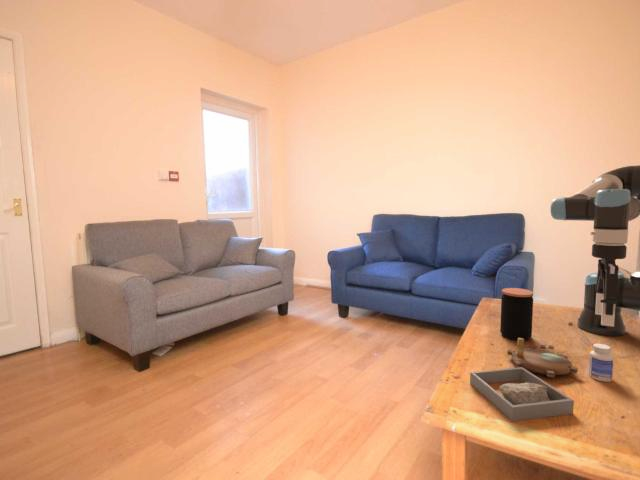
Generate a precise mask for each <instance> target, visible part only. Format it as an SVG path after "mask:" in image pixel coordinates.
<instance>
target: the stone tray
mask: <svg viewBox="0 0 640 480" xmlns="http://www.w3.org/2000/svg"><path fill="white" fill-rule="evenodd" d="M469 376H470V379H469V384H470V385H471V386H472V387H474V389H475V390H477V391H478V392H479V394H481V395H483V396H484V398H486V399H487V400H488V401H489V402H490V403H491V404H492V405H493V406H495V407H496V408H497V409H498V410H499V411H500V412H501V413H502V414H503V415H505V416H506V418H508V419H509V420H510V421H511V422H515V421H524V420H525V421H526V420H533V419H541V418H548V417H550V418H551V417H555V416H556V417H559V416H565V415H573V414H574V403H575V402H574V401H575V400H574V399H572V398H571V397H569V396H568V395H567V394H565V393H563V392H562V391H560V390H559V389H557V388H555V387H554V386H552V384H549V383H548V382H546V381H545V380H543V379H541V378H540V377H538V376H536V375H535V373H534V374H533V372H530V371H528V370H526V369H525V368H523V367H509V368H499V369H489V370H479V371H470V375H469ZM514 381H522V383H535V384H539V385H543V386H545V387H546V392H547V395H548V398H549V399H550V401H545V402H537V403H528V404H519V405H513V404H511V403H510V402H509V401H508V400H506V399H505V397H504V396H503V394H501V393H499V392H498V391H497V390H496V389H495V388H493V387H492V386H491V385H489V384H494V383H496V384H497V383H505V382H514Z"/></svg>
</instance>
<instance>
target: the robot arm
mask: <svg viewBox="0 0 640 480" xmlns="http://www.w3.org/2000/svg"><path fill="white" fill-rule="evenodd" d="M550 215H551V218H553V220H557V221H564V222H565V221H582V222H583V221H584V222H585V221H586V222H587V221H591V222H593V231H591V232H590V235H591V236H593V237H592V242H594V243H593V244H592V247H591V256H592V257H594V258H596V259H598V260H597V262H598V263H597V272H591V273H588V274H587V275H586V277H585V282H584V296H583V309H582V311H581V313H580V315H579V317H578V319H577V322H576V323H577V327H578V328H579V329H581V330H583V331H586V332H590V333H593V334H597V335H602V336H612V337H613V336H614V337H618V336H624V335H626V329H627V327H626V325H625V322H624V320H623V316H622V309H628V310H632V311H638V312H640V230H639V232H638V244H637V257H636V268H635V270H634V271H633V272H631V273H630V275H629V278H627V277H625V275H624V273H622V272H619V270H620V268H619V265H618V264H616V260H623V259H626V258H627V246H626V245H625V244H627V243H628V236H629V222H631V221H633V220H635V219H637V218H638V217H640V164H639V165H628V166H622V167H618V168H616V169H615V168H614V169H613V170H609V171H607V172H604V173H602V174H600V175H599V176H597V177H595V178H594V179H593V180H592V182H591V183H590V184H589V185H587V186H585V187H584V188H582V189H581V190H578V191H577V192H575V193H574V194H573V195H571V196H569V197H564V196H562V197H556V198H554V199H553V200H552V201H551V204H550Z"/></svg>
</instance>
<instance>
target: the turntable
mask: <svg viewBox="0 0 640 480" xmlns="http://www.w3.org/2000/svg"><path fill="white" fill-rule="evenodd" d="M516 344H517V345H516V349H515V350H512V349H508V350H507V355H508V356H511V360H512V361H513V363H512V365H513V366H514V367H515V368H518V367H523V368H524V369H528V370H530V371H534V372H537V373H542V374H546V375H545V376H546V377H550V378H556V377H555V376H562V375H568V374H569V373H572V374H574V375H575V374H577V373H578V372H579V370H578V369H579V368H578V367H576V366H573V364H572V362H571V361H570V360H569V359H568V355H565V354H563V353H561V354H558V353H555V352H553V351H552V352H551V351H548V350H544V349H538V348H536V347H535V346H528V348H526V347H525V341H524V339H523V338H518V341H517V343H516ZM528 370H527V371H528ZM530 371H529V372H530Z"/></svg>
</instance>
